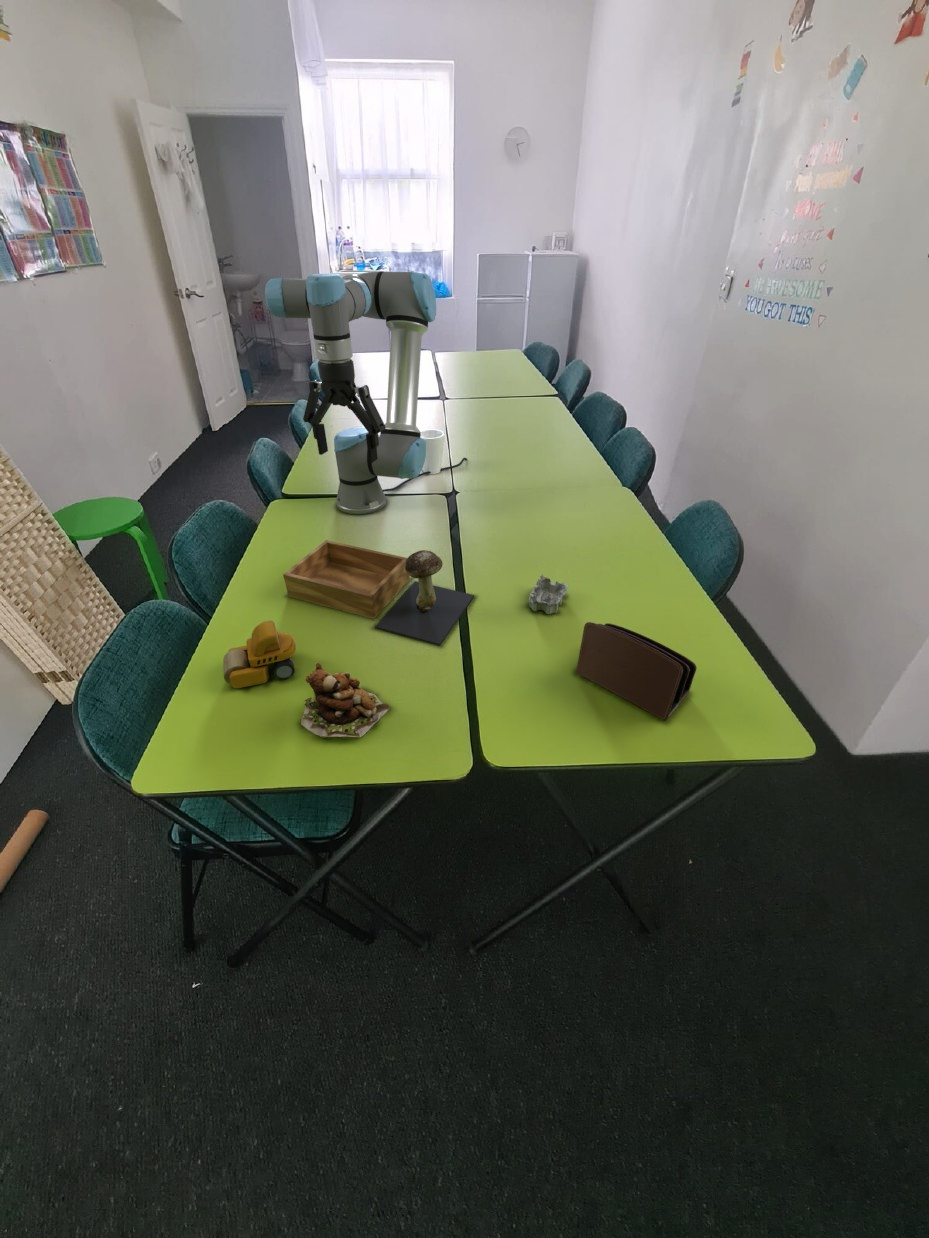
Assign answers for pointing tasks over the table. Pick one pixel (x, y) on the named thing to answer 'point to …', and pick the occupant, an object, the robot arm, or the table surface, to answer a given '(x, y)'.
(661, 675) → the letter holder
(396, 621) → the mat
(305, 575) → the crate
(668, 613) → the table surface
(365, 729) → the bear figurine
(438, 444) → the foam cup
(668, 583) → the table surface
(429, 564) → the mushroom
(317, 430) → the robot arm
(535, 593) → the egg carton
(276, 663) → the toy roller
